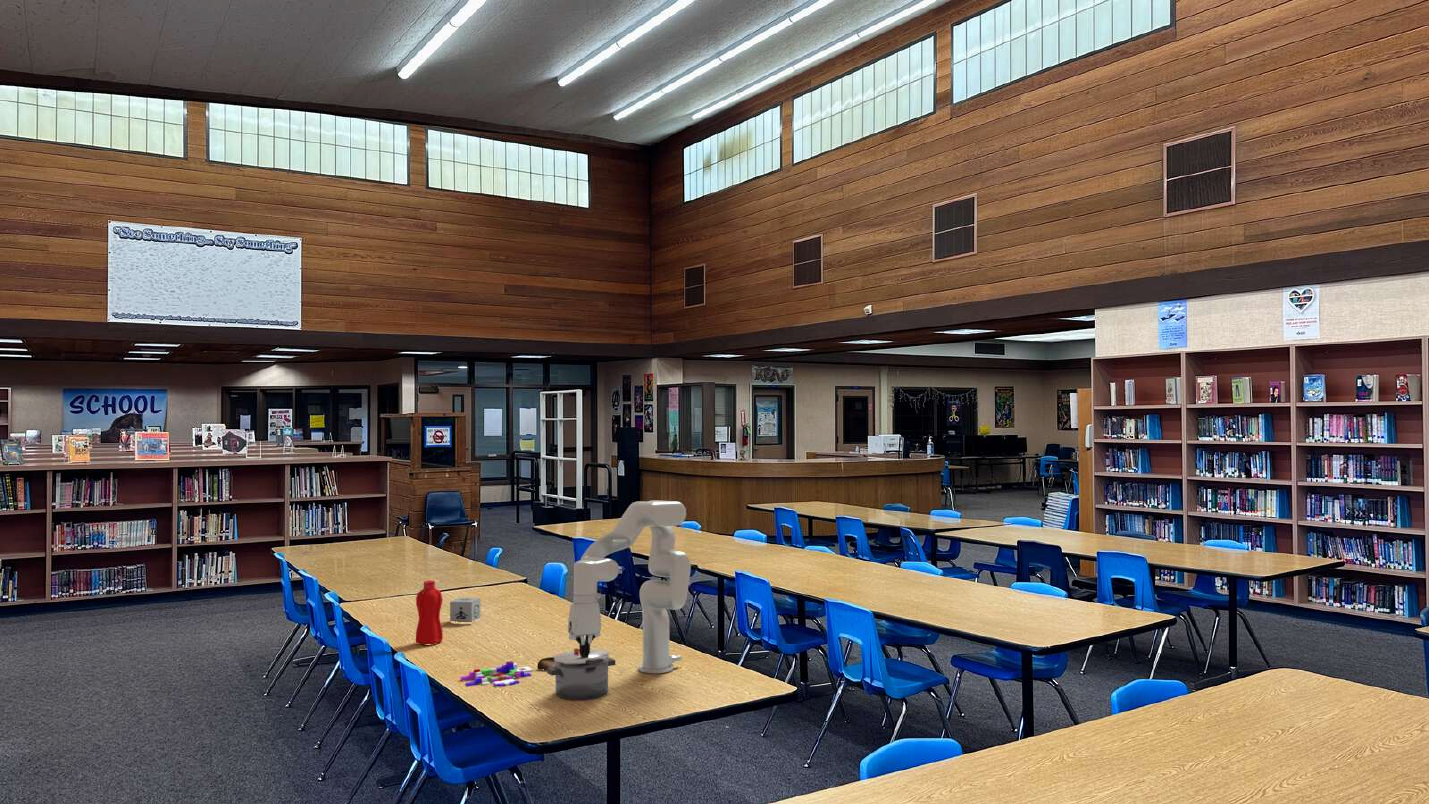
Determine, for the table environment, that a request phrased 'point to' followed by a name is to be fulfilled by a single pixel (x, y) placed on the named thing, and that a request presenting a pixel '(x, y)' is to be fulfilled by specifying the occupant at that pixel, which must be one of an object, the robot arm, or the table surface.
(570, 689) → the pot
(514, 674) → the building block set
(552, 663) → the sunglasses case
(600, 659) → the lid
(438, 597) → the water bottle
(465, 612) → the icon cube
